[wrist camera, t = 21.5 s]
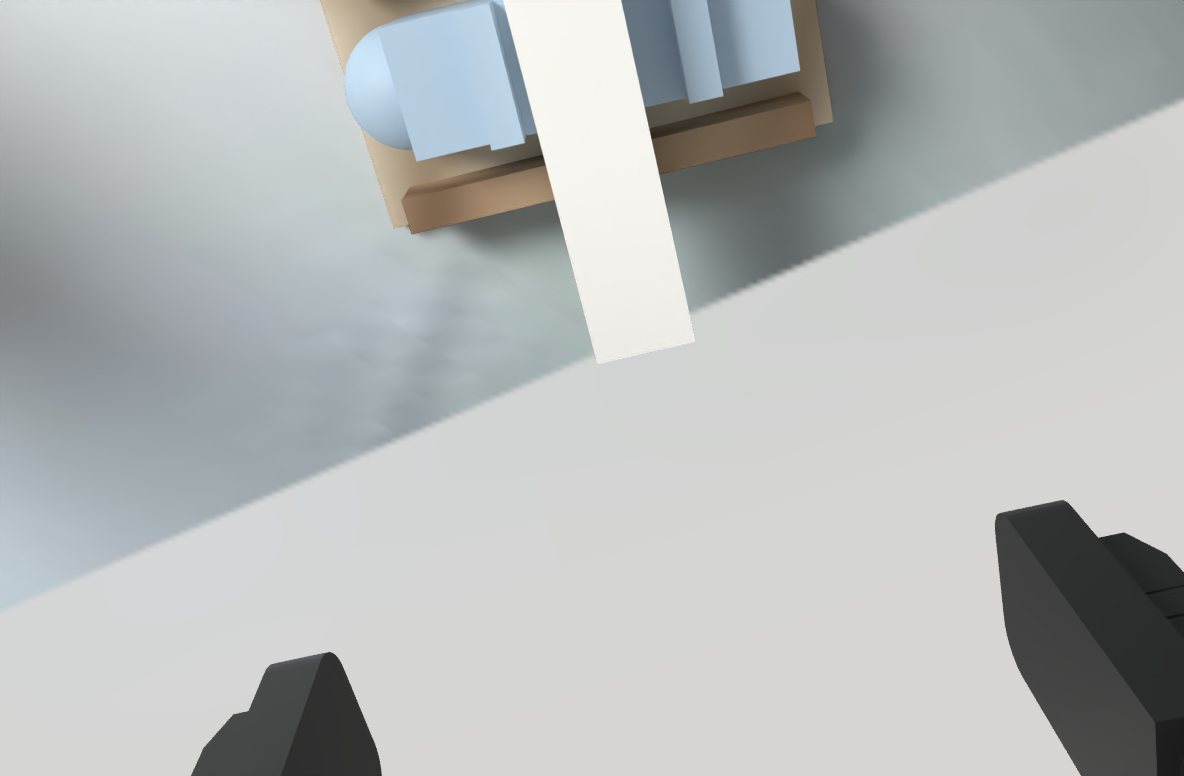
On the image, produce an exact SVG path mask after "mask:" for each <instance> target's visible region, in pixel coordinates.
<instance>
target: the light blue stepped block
mask: <svg viewBox="0 0 1184 776" xmlns="http://www.w3.org/2000/svg"><path fill="white" fill-rule="evenodd" d="M621 2H622V7H623V11H624V16H625V20H626V25H627V30H628V34H629V39H630V43H631V48H632V53H633V57H634V62H635V66H636V71H637V76H638V80H639V85H640V89H641V94H642V98H643V103H644V108H645V107H649V106H653V105H657V104H662V103H666V102H670V101H674V100H679V99H683V98H687V100H688V102H689V103H690V104H692V103H696V102H700V101H704V100H708V99H713V98H717V97H721V96H723V90H722V89H725V88H729V87H733V86H738V85H742V84H746V83H750V82H755V81H759V80H763V79H767V78H772V77H776V76H780V75H784V74H788V73H793V72H797V71H800V66H799V59H798V52H797V45H796V38H795V32H794V25H793V18H792V11H791V4H790V0H621ZM344 87H345V95H346V99H347V103H348V106H349V108H350V111H351V113H352V115H353V116H354V118H355V120H356V121H357V123H358V124H359V125H360V126H361V128H362V129H363V130H364V131H365V132H366V133H367V134H369V135H370V136H371V137H372V138H374V139H375V140H377V141H378V142H380V143H382V144H384V145H387V146H389V147H392V148H396V149H402V150H413V151H414V155H415V158H416V162H417V161H421V160H425V159H429V158H434V157H438V156H442V155H446V154H451V153H455V152H459V151H463V150H467V149H472V148H476V147H480V146H484V145H489V144H490V146H491V150H492V151H493V150H497V149H501V148H505V147H510V146H514V145H518V144H522V143H525V138H526V136H527V135H531V134H535V133H537V129H536V125H535V122H534V118H533V114H532V110H531V106H530V102H529V99H528V95H527V91H526V87H525V83H524V79H523V75H522V72H521V68H520V64H519V60H518V56H517V52H516V48H515V45H514V41H513V37H512V33H511V29H510V25H509V22H508V18H507V14H506V10H505V6H504V2H503V0H466V1H462V2H458V3H454V4H450V5H446V6H442V7H438V8H434V9H430V10H426V11H422V12H418V13H414V14H410V15H406V16H402V17H399V18H397V19H395V20H394V21H392V22H390V23H387V24H384V25H381V26H379V27H377V28H375V29H373V30H372V31H370V32H369V33H368V34H366V35H365V36H364V37H363V38H362V39H361V40H360V41H359V43H358V44H357V45H356V46H355V48H354V50H353V51H352V53H351V55H350V57H349V60H348V62H347V66H346V70H345V84H344Z"/></svg>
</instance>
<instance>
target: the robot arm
mask: <svg viewBox="0 0 1184 776" xmlns="http://www.w3.org/2000/svg"><path fill="white" fill-rule="evenodd" d="M995 534H996V543H997V554H998V563H999V573H1000V583H1001V593H1002V602H1003V612H1004V621H1005V627H1006V632H1007V637H1008V640H1009V644H1010V647H1011V650H1012V654H1013V656H1014V659H1015V662H1016V664H1017V666H1018V669H1019V671H1020V673H1021V675H1022V676H1023V678H1024V680H1025V682H1026V683H1027V685H1028V687H1029V688H1030V690H1031V692H1032V693H1033V695H1034V697H1035V699H1036V700H1037V702H1038V704H1039V705H1040V707H1041V709H1042V710H1043V712H1044V714H1045V716H1046V717H1047V719H1048V720H1049V722H1050V724H1051V725H1052V727H1053V729H1054V731H1055V732H1056V734H1057V736H1058V737H1059V739H1060V741H1061V742H1062V744H1063V746H1064V748H1065V749H1066V751H1067V753H1068V754H1069V756H1070V758H1071V759H1072V761H1073V763H1074V765H1075V766H1076V768H1077V770H1078V771H1079V773H1080V775H1081V776H1184V572H1183V571H1182V570H1181V569H1180V568H1179V567H1178V566H1177V565H1176V564H1175V563H1174V561H1173V560H1172V559H1171V558H1170V557H1169V556H1168V555H1167V554H1166V553H1164V552H1162V551H1160V550H1158V549H1156V548H1154V547H1152V546H1150V545H1148V544H1146V543H1144V542H1142V541H1140V540H1138V539H1136V538H1134V537H1132V536H1130V535H1128V534H1126V533H1119V534H1115V535H1110V536H1105V537H1100V538H1098V537H1097V536H1096V535H1095V534H1094V532H1093V531H1092V530H1091V529H1090V528H1089V526H1088V525H1087V524H1086V523H1085V522H1084V521H1083V519H1082V518H1081V517H1080V516H1079V515H1078V514H1077V512H1076V511H1075V510H1074V509H1073V508H1072V506H1071V505H1070V504H1069V503H1067V502H1066V501H1064V500H1060V501H1055V502H1051V503H1046V504H1042V505H1036V506H1032V507H1027V508H1022V509H1017V510H1013V511H1008V512H1003V513H999V514H998V515H997V516H996V520H995ZM191 776H382V774H381V766H380V761H379V756H378V752H377V748H376V746H375V743H374V741H373V738H372V736H371V733H370V731H369V729H368V726H367V724H366V721H365V719H364V717H363V714H362V712H361V709H360V707H359V705H358V702H357V700H356V697H355V695H354V692H353V690H352V687H351V685H350V683H349V680H348V678H347V675H346V673H345V671H344V668H343V666H342V664H341V662H340V660H339V659H338V657H337V656H336V655H335V654H333V653H331V652H328V653H322V654H318V655H313V656H308V657H303V658H299V659H294V660H289V661H284V662H279V663H275V664H271V665H270V666H269V667H268V668H267V669H266V671H265V673H264V675H263V678H262V680H261V683H260V685H259V688H258V690H257V692H256V695H255V697H254V699H253V702H252V704H251V707H250V709H249V711H247V712H243V713H238V714H234V715H233V716H232V717H231V718H230V719H229V720H228V721H227V722H226V724H225V725H224V726H223V727H222V728H221V729H220V730H219V731H218V732H217V734H216V735H215V736H214V737H213V738H212V739H211V740H210V741H209V743H208V744H207V745H206V746H205V747H204V748H203V750H202V753H201V755H200V758H199V759H198V762H197V764H196V766H195V768H194V770H193V773H192V775H191Z"/></svg>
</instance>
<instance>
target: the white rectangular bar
mask: <svg viewBox="0 0 1184 776" xmlns="http://www.w3.org/2000/svg"><path fill="white" fill-rule="evenodd" d="M503 2H504V6H505V10H506V14H507V18H508V22H509V25H510V29H511V33H512V37H513V41H514V45H515V48H516V52H517V56H518V60H519V64H520V68H521V72H522V75H523V79H524V83H525V87H526V91H527V95H528V99H529V102H530V106H531V110H532V114H533V118H534V122H535V125H536V129H537V133H538V137H539V141H540V145H541V149H542V152H543V156H544V160H545V164H546V168H547V172H548V175H549V179H550V183H551V187H552V191H553V195H554V199H555V202H556V206H557V210H558V214H559V218H560V222H561V226H562V229H563V233H564V237H565V241H566V245H567V249H568V252H569V256H570V260H571V264H572V268H573V272H574V276H575V279H576V283H577V287H578V291H579V295H580V299H581V303H582V306H583V310H584V314H585V318H586V322H587V326H588V329H589V333H590V337H591V341H592V345H593V349H594V353H595V356H596V360H597V364H601V363H606V362H610V361H614V360H619V359H623V358H627V357H631V356H636V355H640V354H645V353H649V352H654V351H658V350H662V349H667V348H671V347H675V346H679V345H684V344H688V343H693V342H695V338H694V333H693V328H692V324H691V319H690V314H689V310H688V305H687V301H686V296H685V291H684V287H683V282H682V278H681V273H680V268H679V264H678V259H677V255H676V250H675V246H674V241H673V236H672V232H671V227H670V223H669V218H668V213H667V209H666V204H665V200H664V195H663V190H662V186H661V181H660V177H659V172H658V167H657V163H656V158H655V154H654V149H653V144H652V140H651V135H650V131H649V126H648V121H647V117H646V112H645V108H644V103H643V98H642V94H641V89H640V85H639V80H638V76H637V71H636V66H635V62H634V57H633V53H632V48H631V43H630V39H629V34H628V30H627V25H626V20H625V16H624V11H623V7H622V2H621V0H503Z"/></svg>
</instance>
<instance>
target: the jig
mask: <svg viewBox="0 0 1184 776" xmlns="http://www.w3.org/2000/svg"><path fill="white" fill-rule="evenodd" d="M462 1H466V0H320V2H321V5H322V9H323V12H324V15H325V18H326V21H327V24H328V27H329V30H330V33H331V36H332V39H333V43H334V46H335V49H336V52H337V55H338V58H339V61H340V64H341V67H342V70H343V73H344V76H345V70H346V66H347V62H348V60H349V57H350V55H351V53H352V51H353V50H354V48H355V46H356V45H357V44H358V43H359V41H360V40H361V39H362V38H363V37H364V36H365V35H366V34H368V33H369V32H370V31H372V30H373V29H375V28H377V27H379V26H381V25H384V24H387V23H390V22H392V21H394V20H395V19H397V18H399V17H402V16H406V15H410V14H414V13H418V12H422V11H426V10H430V9H434V8H438V7H442V6H446V5H450V4H454V3H458V2H462ZM790 4H791V11H792V18H793V25H794V32H795V38H796V45H797V52H798V59H799V66H800V71H797V72H793V73H788V74H784V75H780V76H776V77H772V78H767V79H763V80H759V81H755V82H750V83H746V84H742V85H738V86H733V87H729V88H725V89H722V90H723V96H721V97H717V98H713V99H708V100H704V101H700V102H696V103H692V104H690V103H689V102H688V100H687V98H683V99H679V100H674V101H670V102H666V103H662V104H657V105H653V106H649V107H645V112H646V117H647V121H648V126H649V131H650V135H651V140H652V144H653V149H654V154H655V158H656V163H657V167H658V172H659V175H660V174H664V173H668V172H672V171H676V170H680V169H684V168H688V167H693V166H697V165H701V164H705V163H709V162H713V161H717V160H722V159H726V158H730V157H734V156H738V155H742V154H746V153H750V152H755V151H759V150H763V149H767V148H771V147H775V146H779V145H783V144H788V143H792V142H796V141H800V140H804V139H808V138H812V137H816V130H815V126H819V125H823V124H827V123H831V122H833V115H832V109H831V102H830V95H829V88H828V81H827V75H826V68H825V61H824V54H823V48H822V41H821V34H820V27H819V20H818V14H817V7H816V0H790ZM361 129H362V128H361ZM362 132H363V135H364V138H365V141H366V144H367V147H368V151H369V154H370V157H371V160H372V163H373V166H374V169H375V172H376V175H377V178H378V181H379V184H380V188H381V191H382V194H383V197H384V200H385V203H386V206H387V209H388V212H389V215H390V218H391V222H392V225H393V228H394V229H395V228H399V227H403V226H407V225H409V228H410V231H411V234H416V233H420V232H424V231H428V230H432V229H436V228H441V227H445V226H449V225H453V224H457V223H461V222H465V221H469V220H474V219H478V218H482V217H486V216H490V215H494V214H498V213H503V212H507V211H511V210H515V209H519V208H523V207H527V206H531V205H536V204H540V203H544V202H548V201H552V200H555V199H554V195H553V191H552V187H551V183H550V179H549V175H548V172H547V168H546V164H545V160H544V156H543V152H542V149H541V145H540V141H539V137H538V133H535V134H531V135H527V136H526V138H525V143H522V144H518V145H514V146H510V147H505V148H501V149H497V150H493V151H492V150H491V146H490V144H489V145H484V146H480V147H476V148H472V149H467V150H463V151H459V152H455V153H451V154H446V155H442V156H438V157H434V158H429V159H425V160H421V161H417V162H416V158H415V155H414V151H413V150H402V149H396V148H392V147H389V146H387V145H384V144H382V143H380V142H378V141H377V140H375V139H374V138H372V137H371V136H370V135H369V134H367V133H366V132H365V131H364V130H363V129H362Z"/></svg>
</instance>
